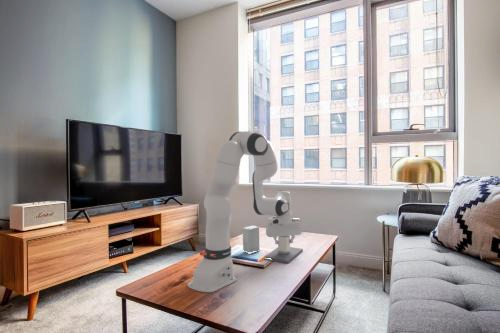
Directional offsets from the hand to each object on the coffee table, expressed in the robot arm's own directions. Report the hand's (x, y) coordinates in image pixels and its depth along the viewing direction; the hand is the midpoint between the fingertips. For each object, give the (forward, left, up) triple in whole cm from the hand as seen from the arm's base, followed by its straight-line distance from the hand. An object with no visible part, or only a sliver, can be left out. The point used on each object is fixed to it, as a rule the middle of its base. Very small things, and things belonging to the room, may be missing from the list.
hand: (284, 243), depth 163 cm
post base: (0, 0, -7) cm, 7 cm away
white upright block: (0, 0, -4) cm, 4 cm away
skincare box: (-4, +19, -7) cm, 21 cm away
